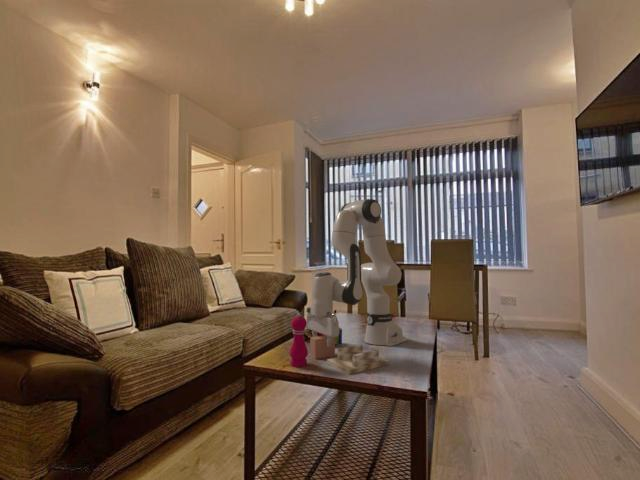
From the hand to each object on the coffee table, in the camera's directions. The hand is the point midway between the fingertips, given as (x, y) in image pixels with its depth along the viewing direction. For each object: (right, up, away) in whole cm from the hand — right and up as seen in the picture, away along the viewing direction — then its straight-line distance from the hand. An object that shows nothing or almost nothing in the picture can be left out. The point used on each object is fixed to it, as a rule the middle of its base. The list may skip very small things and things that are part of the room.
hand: (321, 343), depth 139 cm
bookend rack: (+14, -5, -10) cm, 18 cm away
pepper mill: (-9, -5, -11) cm, 15 cm away
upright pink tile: (0, -5, 0) cm, 5 cm away
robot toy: (+1, -6, +19) cm, 20 cm away
